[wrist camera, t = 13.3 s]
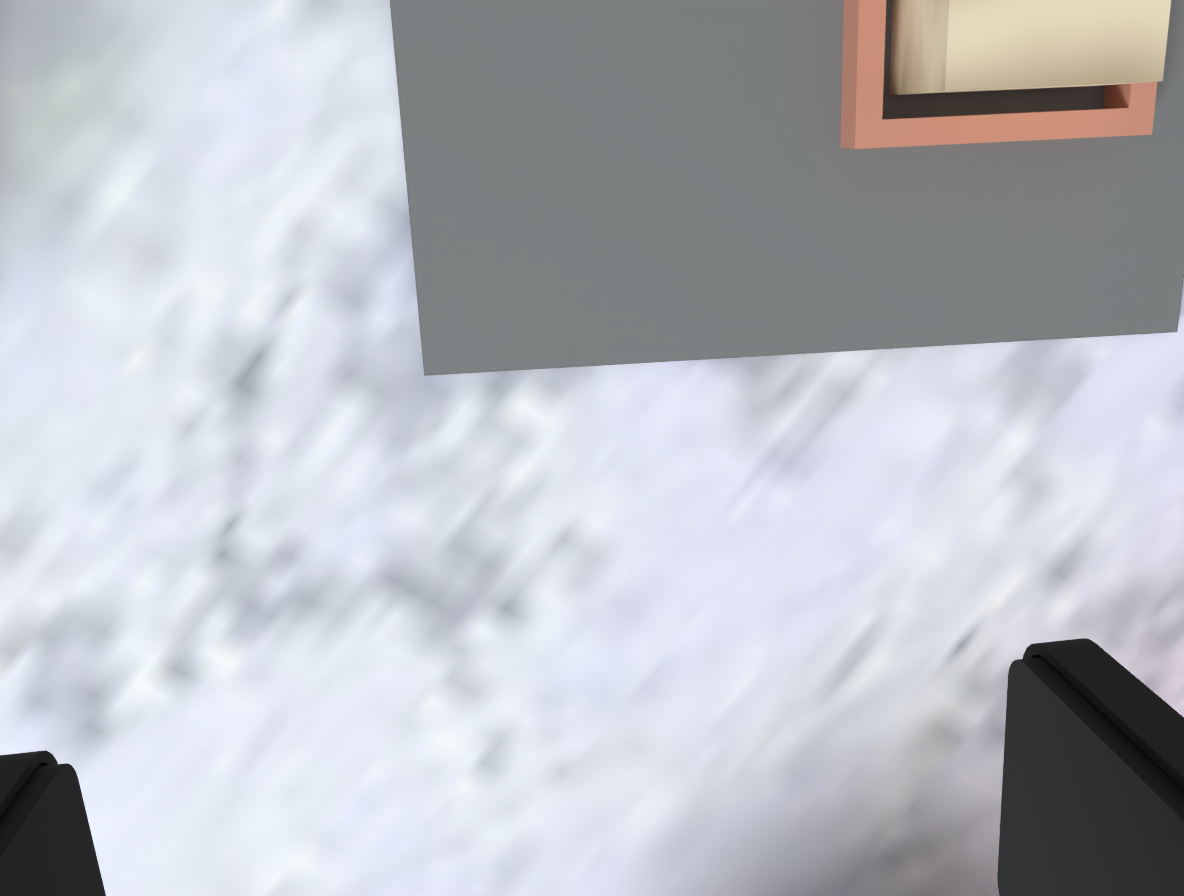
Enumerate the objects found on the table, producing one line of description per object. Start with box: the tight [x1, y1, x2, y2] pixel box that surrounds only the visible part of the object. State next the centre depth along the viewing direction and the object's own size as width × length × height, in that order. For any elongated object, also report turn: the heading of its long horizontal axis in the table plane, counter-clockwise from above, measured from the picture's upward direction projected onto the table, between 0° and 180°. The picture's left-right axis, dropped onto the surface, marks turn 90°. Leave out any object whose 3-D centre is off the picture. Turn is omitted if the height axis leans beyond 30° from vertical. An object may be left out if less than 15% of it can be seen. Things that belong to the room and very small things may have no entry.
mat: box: [390, 0, 1184, 376], centre depth 32 cm, size 25×20×2 cm
